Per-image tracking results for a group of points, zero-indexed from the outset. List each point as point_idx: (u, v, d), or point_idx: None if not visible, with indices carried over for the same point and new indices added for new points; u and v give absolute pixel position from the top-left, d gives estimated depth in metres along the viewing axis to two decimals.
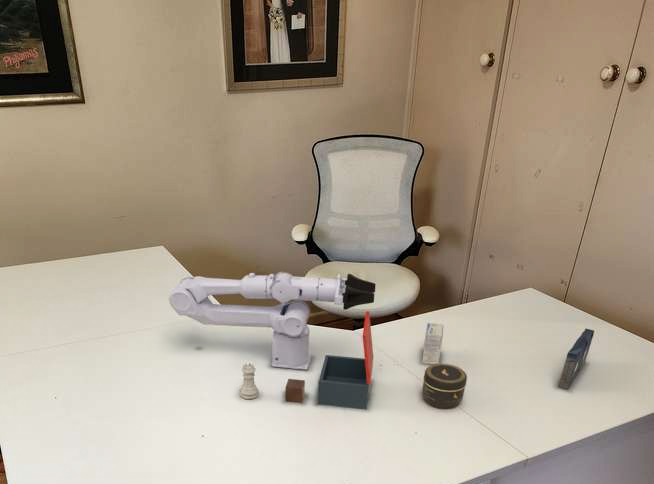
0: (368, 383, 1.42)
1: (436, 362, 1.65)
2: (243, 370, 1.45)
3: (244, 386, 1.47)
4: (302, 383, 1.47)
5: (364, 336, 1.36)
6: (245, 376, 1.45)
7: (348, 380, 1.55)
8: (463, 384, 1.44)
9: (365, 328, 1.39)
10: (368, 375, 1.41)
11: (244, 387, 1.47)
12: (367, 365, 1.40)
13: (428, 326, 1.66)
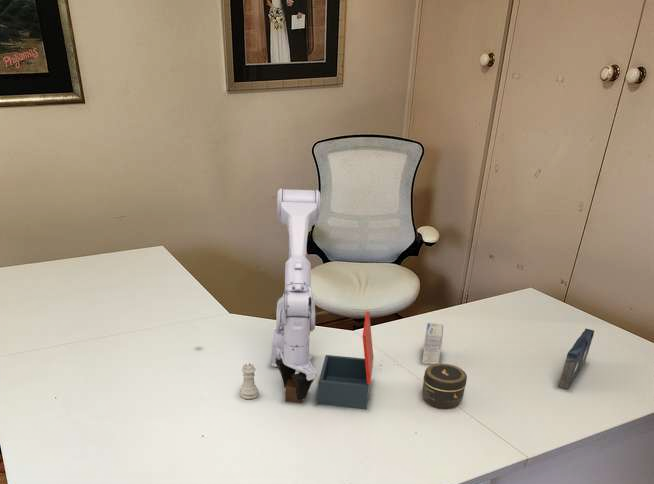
0: (368, 383, 1.42)
1: (436, 362, 1.65)
2: (243, 370, 1.45)
3: (244, 386, 1.47)
4: None
5: (364, 336, 1.36)
6: (245, 376, 1.45)
7: (348, 380, 1.55)
8: (463, 384, 1.44)
9: (365, 328, 1.39)
10: (368, 375, 1.41)
11: (244, 387, 1.47)
12: (367, 365, 1.40)
13: (428, 326, 1.66)
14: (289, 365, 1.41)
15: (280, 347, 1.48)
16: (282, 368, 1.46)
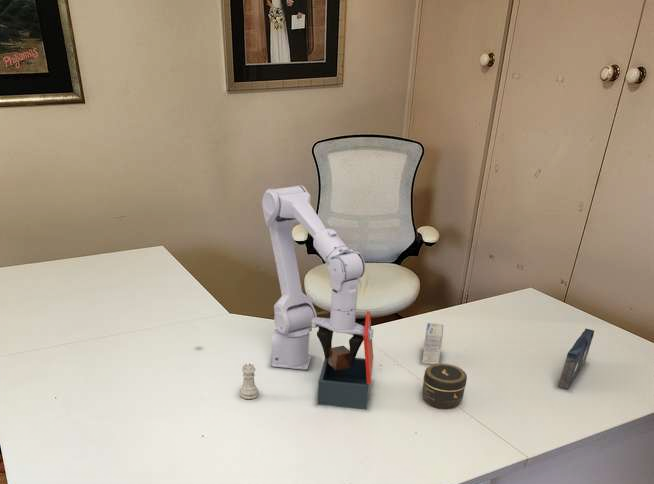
0: (368, 383, 1.42)
1: (436, 362, 1.65)
2: (243, 370, 1.45)
3: (244, 386, 1.47)
4: (345, 348, 1.47)
5: (365, 336, 1.36)
6: (245, 376, 1.45)
7: (348, 380, 1.55)
8: (463, 384, 1.44)
9: (366, 328, 1.39)
10: (368, 375, 1.41)
11: (244, 387, 1.47)
12: (367, 365, 1.40)
13: (428, 326, 1.66)
14: (344, 331, 1.40)
15: (314, 319, 1.44)
16: (326, 338, 1.44)
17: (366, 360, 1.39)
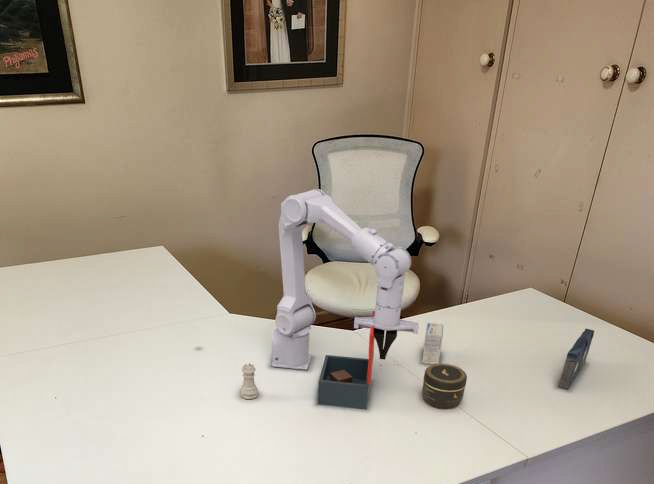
0: (368, 383, 1.42)
1: (436, 362, 1.65)
2: (243, 370, 1.45)
3: (244, 386, 1.47)
4: (346, 372, 1.51)
5: (371, 336, 1.36)
6: (245, 376, 1.45)
7: None
8: (463, 384, 1.44)
9: (372, 328, 1.39)
10: (369, 375, 1.41)
11: (244, 387, 1.47)
12: (370, 365, 1.40)
13: (428, 326, 1.66)
14: (393, 328, 1.39)
15: (355, 320, 1.42)
16: None
17: (369, 360, 1.39)
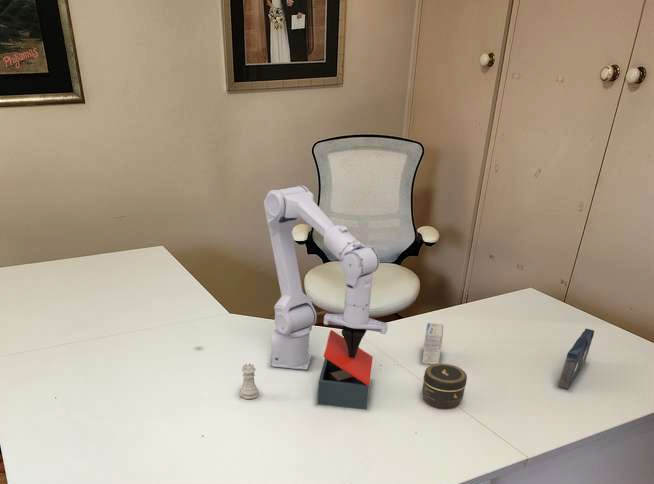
0: (367, 384, 1.42)
1: (436, 362, 1.65)
2: (243, 370, 1.45)
3: (244, 386, 1.47)
4: (346, 372, 1.51)
5: (325, 356, 1.40)
6: (245, 376, 1.45)
7: None
8: (463, 384, 1.44)
9: (326, 348, 1.43)
10: (360, 378, 1.42)
11: (244, 387, 1.47)
12: (351, 372, 1.41)
13: (428, 326, 1.66)
14: (359, 326, 1.39)
15: (326, 316, 1.43)
16: (351, 337, 1.42)
17: (346, 370, 1.41)
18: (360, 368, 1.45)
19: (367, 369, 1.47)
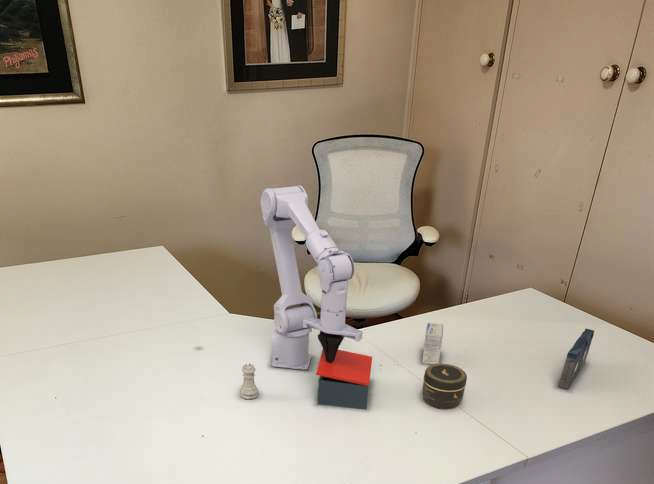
0: (367, 384, 1.42)
1: (436, 362, 1.65)
2: (243, 370, 1.45)
3: (244, 386, 1.47)
4: None
5: (317, 373, 1.43)
6: (245, 376, 1.45)
7: None
8: (463, 384, 1.44)
9: (318, 365, 1.46)
10: (358, 382, 1.42)
11: (244, 387, 1.47)
12: (347, 379, 1.42)
13: (428, 326, 1.66)
14: (333, 332, 1.41)
15: (305, 319, 1.46)
16: (327, 341, 1.44)
17: (342, 379, 1.42)
18: (357, 372, 1.46)
19: (366, 370, 1.47)
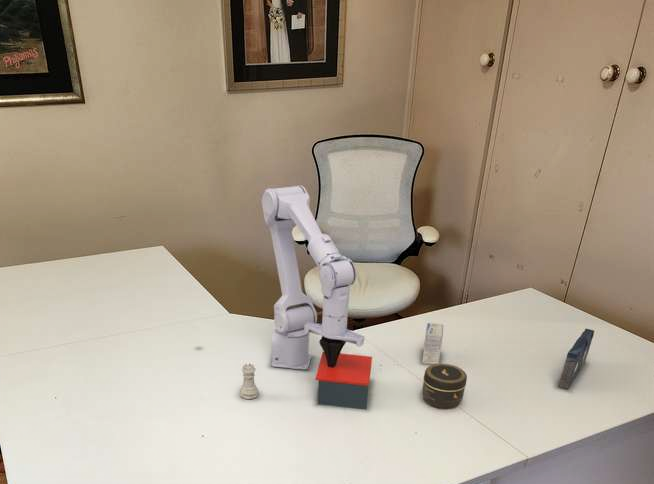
0: (367, 384, 1.42)
1: (436, 362, 1.65)
2: (243, 370, 1.45)
3: (244, 386, 1.47)
4: None
5: (316, 378, 1.43)
6: (245, 376, 1.45)
7: None
8: (463, 384, 1.44)
9: (317, 371, 1.46)
10: (358, 383, 1.42)
11: (244, 387, 1.47)
12: (347, 382, 1.43)
13: (428, 326, 1.66)
14: (335, 337, 1.41)
15: (307, 324, 1.46)
16: (329, 346, 1.44)
17: (341, 382, 1.43)
18: (357, 373, 1.46)
19: (365, 371, 1.47)
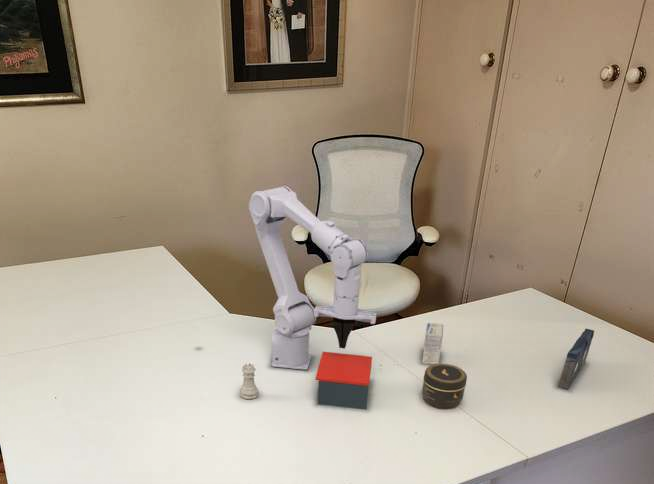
0: (367, 384, 1.42)
1: (436, 362, 1.65)
2: (243, 370, 1.45)
3: (244, 386, 1.47)
4: None
5: (316, 378, 1.43)
6: (245, 376, 1.45)
7: None
8: (463, 384, 1.44)
9: (317, 371, 1.46)
10: (358, 383, 1.42)
11: (244, 387, 1.47)
12: (347, 382, 1.43)
13: (428, 326, 1.66)
14: (350, 317, 1.43)
15: (315, 308, 1.46)
16: (342, 328, 1.45)
17: (341, 382, 1.43)
18: (357, 373, 1.46)
19: (365, 371, 1.47)
